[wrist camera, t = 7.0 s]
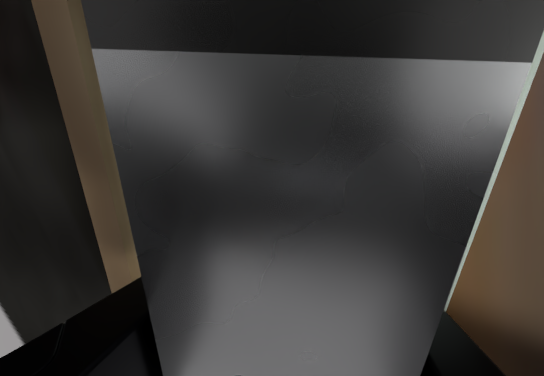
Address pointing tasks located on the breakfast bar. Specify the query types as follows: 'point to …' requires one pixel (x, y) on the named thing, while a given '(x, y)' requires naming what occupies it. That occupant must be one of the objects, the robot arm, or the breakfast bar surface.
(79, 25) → the corner walls
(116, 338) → the robot arm
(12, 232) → the breakfast bar surface
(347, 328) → the aluminium bar
